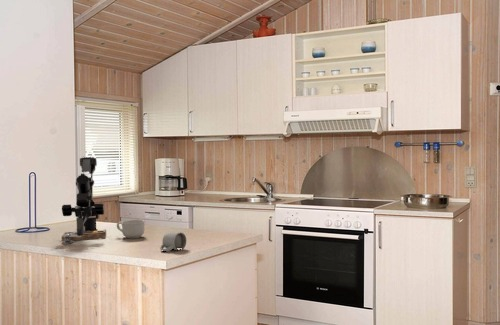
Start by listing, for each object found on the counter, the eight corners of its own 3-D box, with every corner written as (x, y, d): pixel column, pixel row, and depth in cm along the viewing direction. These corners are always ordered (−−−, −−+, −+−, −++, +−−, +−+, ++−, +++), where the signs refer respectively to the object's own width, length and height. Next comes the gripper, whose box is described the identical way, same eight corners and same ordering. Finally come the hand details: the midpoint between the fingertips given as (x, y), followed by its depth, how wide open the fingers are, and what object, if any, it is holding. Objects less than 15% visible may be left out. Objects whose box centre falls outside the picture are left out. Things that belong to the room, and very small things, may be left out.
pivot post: (61, 244, 242) (60, 238, 242) (62, 242, 247) (62, 236, 247) (72, 243, 243) (72, 237, 243) (73, 241, 248) (73, 235, 248)
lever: (61, 236, 244) (60, 218, 244) (81, 231, 259) (80, 213, 258) (81, 237, 241) (80, 218, 241) (99, 231, 256) (99, 214, 256)
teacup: (149, 236, 260) (148, 220, 259) (135, 240, 250) (135, 223, 249) (126, 234, 265) (125, 218, 265) (112, 238, 256) (111, 222, 255)
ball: (98, 235, 262) (96, 229, 261) (100, 235, 259) (98, 229, 259) (92, 238, 260) (90, 232, 259) (95, 238, 257) (92, 232, 257)
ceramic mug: (173, 246, 232) (172, 229, 232) (187, 248, 228) (186, 231, 227) (155, 251, 224) (155, 233, 223) (169, 253, 219) (169, 235, 219)
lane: (61, 240, 252) (61, 234, 252) (64, 237, 261) (64, 231, 261) (105, 238, 256) (105, 232, 256) (106, 235, 265) (106, 229, 265)
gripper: (61, 187, 248) (58, 214, 237) (103, 186, 251) (101, 212, 241) (64, 202, 256) (61, 228, 245) (104, 201, 259) (103, 226, 249)
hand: (82, 224), depth 245 cm, fingers closed
